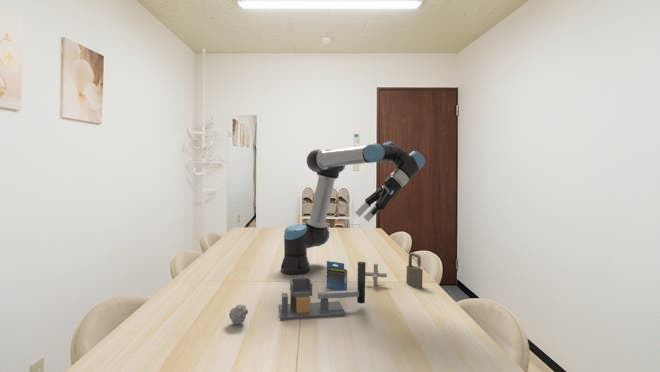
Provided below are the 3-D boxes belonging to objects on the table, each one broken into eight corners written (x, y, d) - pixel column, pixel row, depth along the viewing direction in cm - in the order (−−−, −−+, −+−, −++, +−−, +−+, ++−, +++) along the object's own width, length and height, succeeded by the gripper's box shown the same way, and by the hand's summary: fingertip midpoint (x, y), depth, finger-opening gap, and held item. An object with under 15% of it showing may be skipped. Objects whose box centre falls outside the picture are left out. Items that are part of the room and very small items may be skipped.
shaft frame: (280, 320, 127) (280, 287, 127) (278, 307, 139) (278, 277, 138) (345, 316, 132) (346, 284, 131) (339, 303, 143) (339, 274, 143)
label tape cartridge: (347, 288, 161) (347, 261, 161) (344, 290, 158) (344, 263, 157) (329, 285, 165) (330, 258, 164) (326, 287, 162) (326, 260, 161)
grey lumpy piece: (239, 330, 120) (239, 309, 120) (225, 324, 124) (224, 305, 123) (252, 323, 125) (252, 303, 125) (238, 318, 129) (237, 299, 128)
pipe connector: (385, 289, 159) (386, 267, 159) (363, 288, 161) (363, 266, 161) (386, 282, 169) (387, 261, 168) (365, 281, 171) (366, 260, 170)
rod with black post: (318, 306, 134) (318, 265, 133) (317, 303, 137) (317, 263, 136) (365, 303, 138) (366, 263, 137) (363, 300, 141) (364, 261, 140)
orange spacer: (296, 312, 132) (296, 299, 132) (295, 307, 137) (295, 294, 137) (310, 311, 133) (310, 298, 132) (308, 306, 138) (308, 293, 137)
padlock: (416, 288, 161) (417, 256, 160) (405, 283, 168) (405, 251, 167) (423, 287, 163) (424, 255, 162) (411, 282, 170) (412, 251, 169)
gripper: (413, 189, 141) (376, 228, 139) (391, 185, 166) (359, 218, 164) (400, 176, 140) (363, 215, 138) (380, 174, 164) (348, 207, 162)
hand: (361, 217), depth 151 cm, fingers open, 13 cm apart
